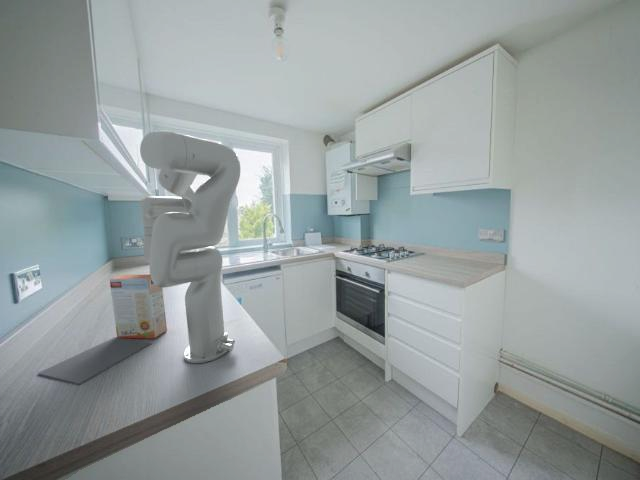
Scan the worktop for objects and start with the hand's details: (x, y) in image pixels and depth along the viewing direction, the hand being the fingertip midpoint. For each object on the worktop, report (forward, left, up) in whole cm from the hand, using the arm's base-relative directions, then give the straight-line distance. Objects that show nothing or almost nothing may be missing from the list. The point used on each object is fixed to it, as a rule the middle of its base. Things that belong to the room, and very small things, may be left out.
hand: (161, 280), depth 85 cm
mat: (-1, +22, -17) cm, 28 cm away
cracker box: (0, +9, -17) cm, 19 cm away
